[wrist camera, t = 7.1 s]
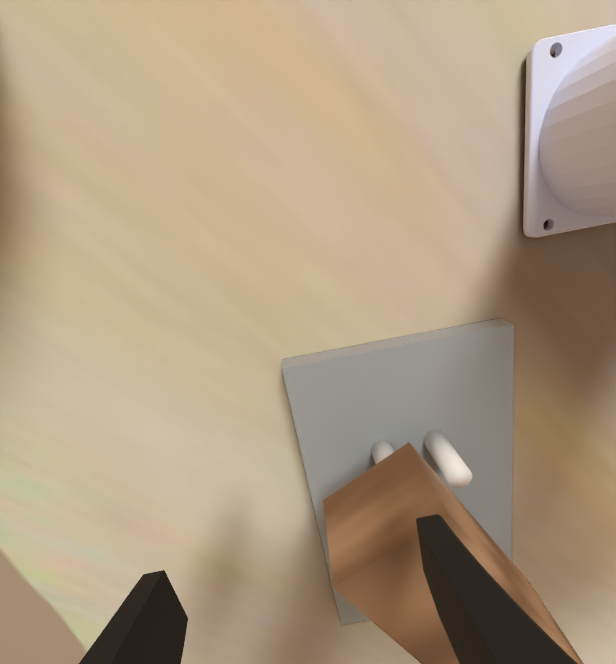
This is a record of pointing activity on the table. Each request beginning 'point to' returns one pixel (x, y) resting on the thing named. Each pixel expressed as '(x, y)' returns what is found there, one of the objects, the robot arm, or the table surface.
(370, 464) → the peg plate
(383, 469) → the copper brown rectangular block
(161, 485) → the table surface
